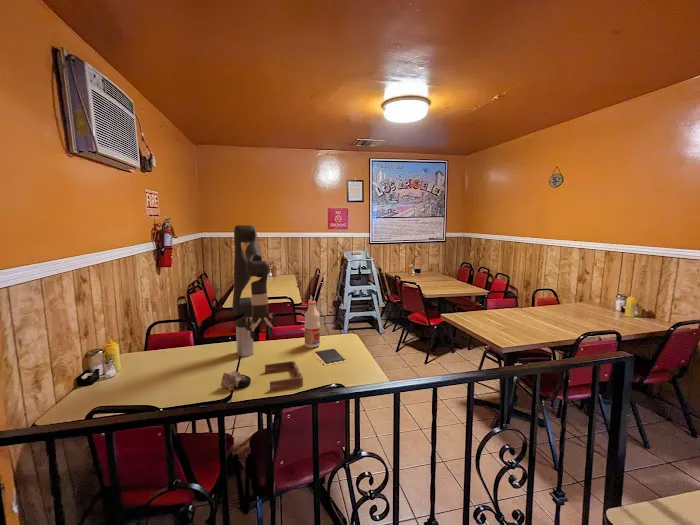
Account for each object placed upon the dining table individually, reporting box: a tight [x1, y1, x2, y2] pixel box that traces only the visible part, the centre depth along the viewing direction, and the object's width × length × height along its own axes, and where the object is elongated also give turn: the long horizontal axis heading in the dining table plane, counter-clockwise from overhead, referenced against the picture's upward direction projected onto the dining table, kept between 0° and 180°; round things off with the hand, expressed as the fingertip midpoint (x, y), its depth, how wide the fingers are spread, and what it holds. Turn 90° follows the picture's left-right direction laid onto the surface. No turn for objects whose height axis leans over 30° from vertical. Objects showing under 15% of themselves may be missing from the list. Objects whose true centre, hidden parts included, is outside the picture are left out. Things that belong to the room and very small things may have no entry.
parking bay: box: [264, 360, 304, 392], centre depth 169 cm, size 20×15×4 cm
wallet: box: [314, 348, 346, 364], centre depth 196 cm, size 20×2×15 cm
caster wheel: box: [220, 371, 252, 391], centre depth 162 cm, size 7×11×10 cm
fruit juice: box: [304, 300, 321, 349], centre depth 211 cm, size 9×9×28 cm
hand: (261, 336), depth 163 cm, fingers open, 8 cm apart
